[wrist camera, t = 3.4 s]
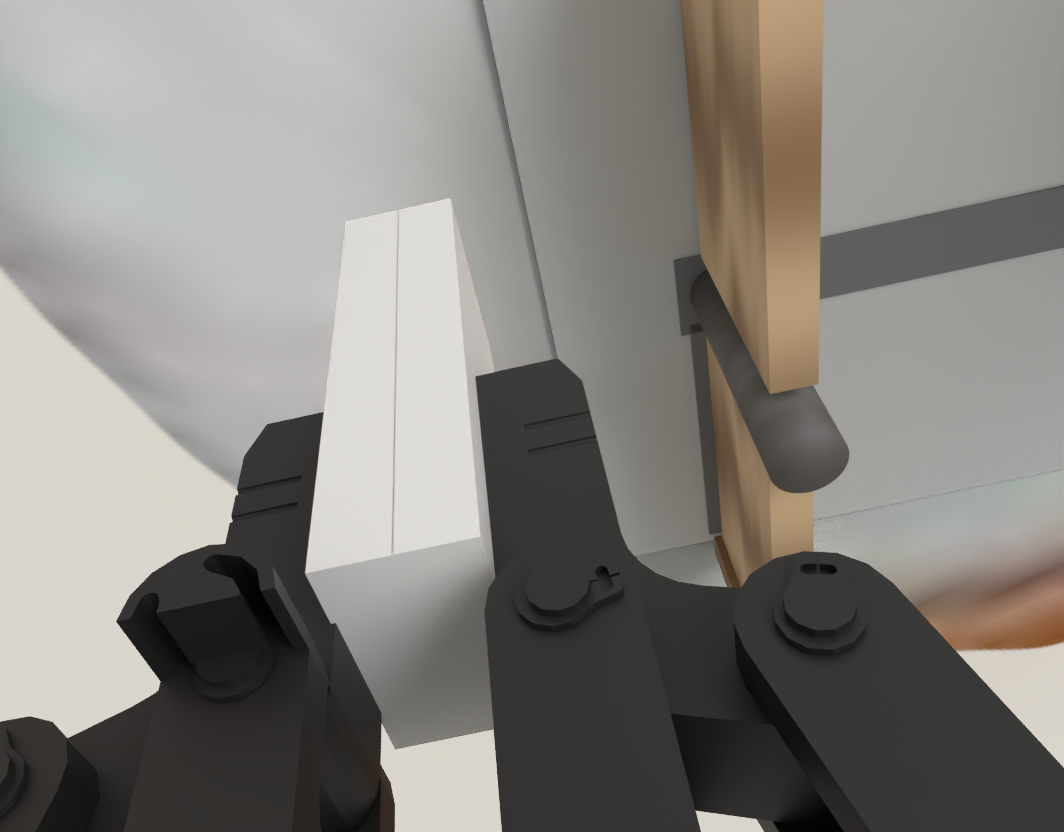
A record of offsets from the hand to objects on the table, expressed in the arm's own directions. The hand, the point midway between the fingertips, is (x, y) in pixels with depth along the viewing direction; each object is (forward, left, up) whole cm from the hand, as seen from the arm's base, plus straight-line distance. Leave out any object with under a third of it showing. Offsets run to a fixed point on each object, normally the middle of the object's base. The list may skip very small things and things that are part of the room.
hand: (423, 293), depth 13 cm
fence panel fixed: (-7, +15, -13) cm, 21 cm away
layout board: (-11, +9, -13) cm, 20 cm away
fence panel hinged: (-7, +2, -13) cm, 15 cm away
